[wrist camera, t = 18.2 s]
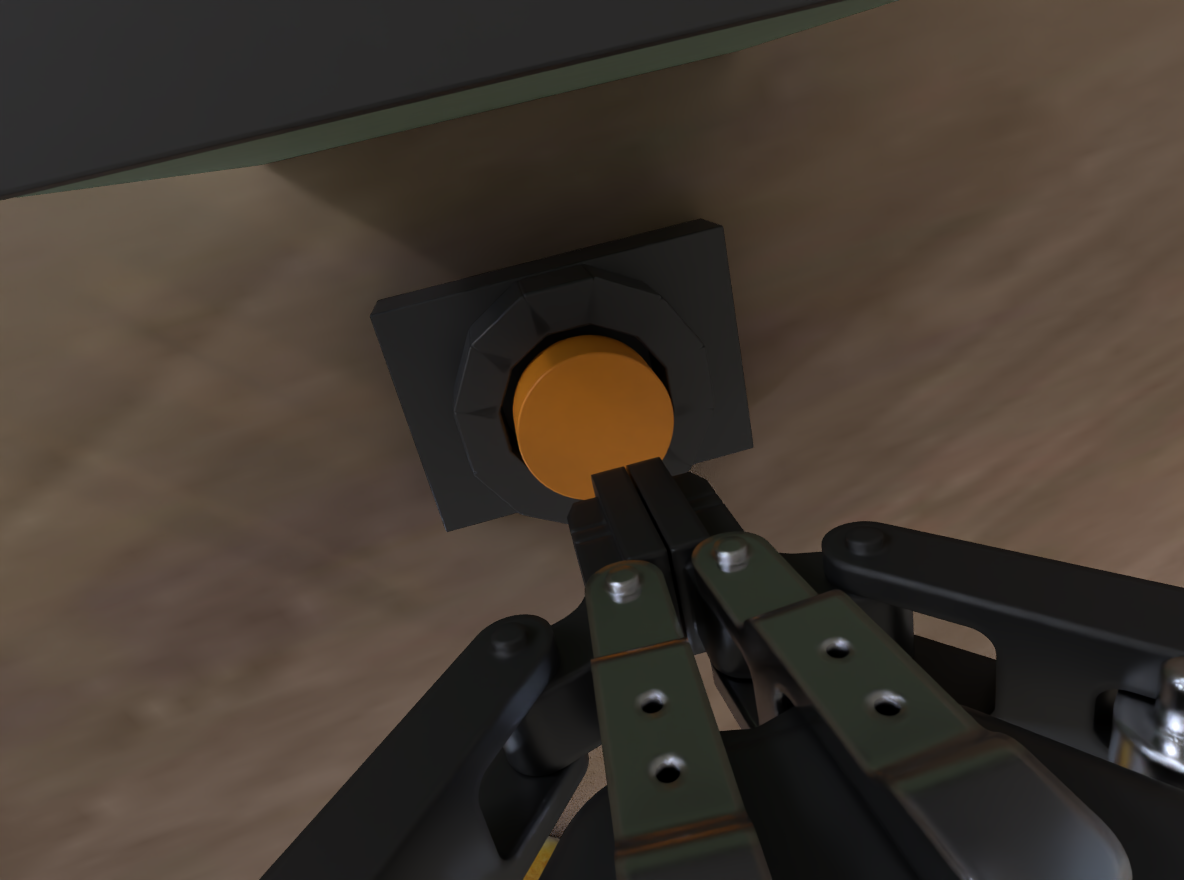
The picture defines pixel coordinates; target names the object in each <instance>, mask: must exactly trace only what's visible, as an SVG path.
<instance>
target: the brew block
mask: <svg viewBox="0 0 1184 880" xmlns="http://www.w3.org/2000/svg"><path fill="white" fill-rule="evenodd" d="M370 318H371V321H372V324H373V327H374V330H375V333H376V335H377V338H378V341H379V344H380V347H381V350H382V352H383V355H384V358H385V361H386V364H387V366H388V369H389V372H390V375H391V378H392V381H393V383H394V386H395V389H396V392H397V395H398V397H399V400H400V403H401V406H402V409H403V412H404V414H405V417H406V420H407V423H408V426H409V428H410V431H411V434H412V437H413V440H414V443H415V445H416V448H417V451H418V454H419V457H420V459H421V462H422V465H423V468H424V471H425V474H426V476H427V479H428V482H429V485H430V488H431V491H432V493H433V496H434V499H435V502H436V505H437V507H438V510H439V513H440V516H441V519H442V522H443V524H444V527H445V530H446V531H447V532H449V531H453V530H456V529H460V528H464V527H467V526H471V525H475V524H478V523H482V522H485V521H489V520H493V519H496V518H500V517H504V516H507V515H511V514H514V513H519V514H522V515H525V516H530V517H535V518H540V519H545V520H550V521H555V522H560V523H565V524H568V520H567V516H568V514H569V511H570V509H571V507H572V505H573V503H575V502H579V501H583V500H581V499H574V498H570V497H567V496H563V495H561V494H559V493H556V492H554V491H553V490H551V489H549V488H547V487H546V486H545V485H543V484H542V483H541V482H540V481H539V480H538V479H537V478H536V477H535V476H534V475H533V474H532V473H531V472H530V470H529V469H528V467H527V466H526V464H525V462H524V460H523V458H522V456H521V453H520V450H519V446H518V441H517V436H516V430H515V424H514V419H513V398H514V393H515V389H516V386H517V383H518V381H519V379H520V377H521V375H522V373H523V371H524V370H525V368H526V367H527V365H528V364H529V363H530V362H531V361H532V360H533V359H534V357H535V356H537V355H538V354H539V353H540V352H541V351H543V350H544V349H546V348H547V347H549V346H550V345H552V344H554V343H556V342H558V341H560V340H563V339H566V338H569V337H574V336H579V335H600V336H605V337H610V338H612V339H615V340H618V341H620V342H622V343H624V344H626V345H628V346H629V347H631V348H632V349H633V350H635V351H636V352H637V353H638V354H639V355H640V356H641V357H642V358H643V359H644V361H645V362H646V363H647V364H648V365H649V367H650V368H651V369H652V370H653V372H654V373H655V374H656V375H657V376H658V378H659V379H660V380H661V381H662V383H663V385H664V386H665V388H666V390H667V392H668V394H669V397H670V399H671V403H672V407H673V413H674V429H673V435H672V439H671V443H670V446H669V448H668V451H667V453H666V455H665V457H664V458H663V460H662V461H663V463H664V464H665V466H666V468H667V469H668V471H669V472H670V474H671V475H672V476H675V475H679V474H683V473H686V472H688V471H689V470H690V469H691V466H693V464H696V463H700V462H703V461H707V460H710V459H714V458H718V457H721V456H725V455H729V454H732V453H736V452H739V451H743V450H747V449H750V448H753V439H752V431H751V424H750V417H749V410H748V403H747V395H746V388H745V381H744V374H743V366H742V359H741V352H740V345H739V338H738V330H737V323H736V316H735V309H734V301H733V294H732V287H731V280H730V273H729V265H728V258H727V251H726V244H725V237H724V229H723V226H722V225H719V224H716V223H713V222H710V221H707V220H704V219H697V220H693V221H689V222H685V223H681V224H677V225H673V226H669V227H665V228H662V229H658V230H654V231H650V232H646V233H642V234H638V235H634V236H630V237H626V238H622V239H618V240H614V241H610V242H606V243H602V244H598V245H594V246H591V247H587V248H583V249H579V250H575V251H571V252H567V253H563V254H559V255H555V256H551V257H547V258H543V259H539V260H535V261H531V262H527V263H523V264H520V265H516V266H512V267H508V268H504V269H500V270H496V271H492V272H488V273H484V274H480V275H476V276H472V277H468V278H464V279H460V280H456V281H452V282H448V283H445V284H441V285H437V286H433V287H429V288H425V289H421V290H417V291H413V292H409V293H405V294H401V295H397V296H393V297H389V298H385V299H381V300H378V301H377V303H376V305H375V307H374V309H373V311H372V313H371V315H370Z"/></svg>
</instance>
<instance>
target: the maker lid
mask: <svg viewBox="0 0 1184 880" xmlns="http://www.w3.org/2000/svg"><path fill="white" fill-rule="evenodd" d="M842 1H846V0H0V200H5V199H9V198H13V197H18V196H22V195H26V194H30V193H35V192H39V191H43V190H47V189H51V188H56V187H60V186H64V185H68V184H73V183H77V182H81V181H85V180H90V179H94V178H98V177H102V176H106V175H111V174H115V173H119V172H123V171H128V170H132V169H136V168H140V167H145V166H149V165H153V164H157V163H161V162H166V161H170V160H174V159H178V158H183V157H187V156H191V155H195V154H199V153H204V152H208V151H212V150H216V149H221V148H225V147H229V146H233V145H238V144H242V143H246V142H250V141H254V140H259V139H263V138H267V137H271V136H276V135H280V134H284V133H288V132H292V131H297V130H301V129H305V128H309V127H314V126H318V125H322V124H326V123H331V122H335V121H339V120H343V119H347V118H352V117H356V116H360V115H364V114H369V113H373V112H377V111H381V110H385V109H390V108H394V107H398V106H402V105H407V104H411V103H415V102H419V101H424V100H428V99H432V98H436V97H440V96H445V95H449V94H453V93H457V92H462V91H466V90H470V89H474V88H479V87H483V86H487V85H491V84H495V83H500V82H504V81H508V80H512V79H517V78H521V77H525V76H529V75H533V74H538V73H542V72H546V71H550V70H555V69H559V68H563V67H567V66H572V65H576V64H580V63H584V62H588V61H593V60H597V59H601V58H605V57H610V56H614V55H618V54H622V53H626V52H631V51H635V50H639V49H643V48H648V47H652V46H656V45H660V44H665V43H669V42H673V41H677V40H681V39H686V38H690V37H694V36H698V35H703V34H707V33H711V32H715V31H719V30H724V29H728V28H732V27H736V26H741V25H745V24H749V23H753V22H758V21H762V20H766V19H770V18H774V17H779V16H783V15H787V14H791V13H796V12H800V11H804V10H808V9H813V8H817V7H821V6H825V5H829V4H834V3H838V2H842Z"/></svg>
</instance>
